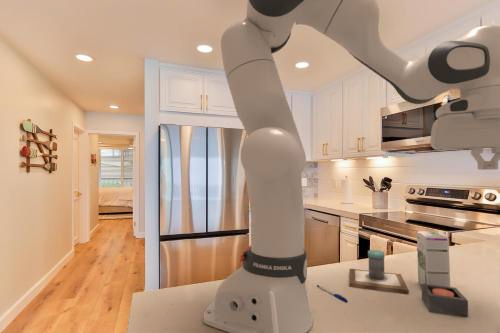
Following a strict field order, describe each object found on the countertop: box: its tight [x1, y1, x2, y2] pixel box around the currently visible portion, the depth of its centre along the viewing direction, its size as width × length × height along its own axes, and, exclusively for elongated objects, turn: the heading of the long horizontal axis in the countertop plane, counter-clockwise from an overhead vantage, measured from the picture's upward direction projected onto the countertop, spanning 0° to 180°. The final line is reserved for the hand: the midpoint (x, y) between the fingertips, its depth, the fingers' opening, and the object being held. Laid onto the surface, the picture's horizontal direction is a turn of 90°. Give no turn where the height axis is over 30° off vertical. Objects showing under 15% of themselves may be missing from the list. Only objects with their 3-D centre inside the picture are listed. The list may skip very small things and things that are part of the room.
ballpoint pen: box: [316, 284, 349, 303], centre depth 70 cm, size 10×1×1 cm, turn 28°
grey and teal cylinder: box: [367, 249, 386, 280], centre depth 78 cm, size 4×4×7 cm
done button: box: [432, 288, 454, 297], centre depth 63 cm, size 4×4×2 cm
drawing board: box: [349, 268, 410, 295], centre depth 78 cm, size 14×12×1 cm
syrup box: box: [416, 230, 451, 287], centre depth 73 cm, size 6×6×14 cm
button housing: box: [421, 284, 469, 318], centre depth 63 cm, size 7×7×4 cm
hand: (487, 169), depth 59 cm, fingers closed
